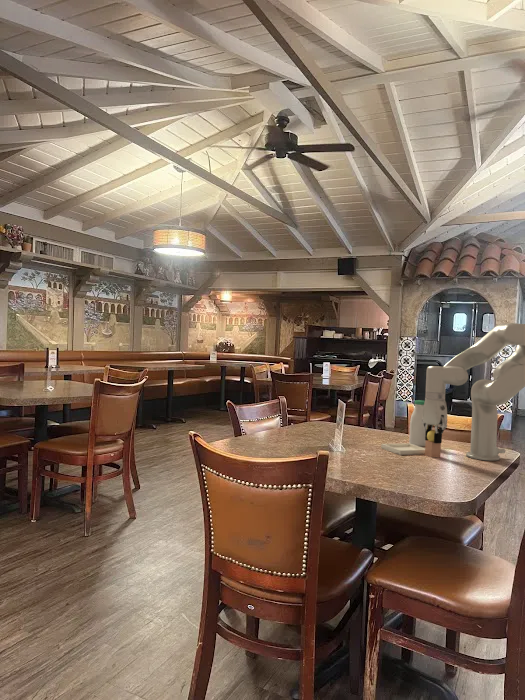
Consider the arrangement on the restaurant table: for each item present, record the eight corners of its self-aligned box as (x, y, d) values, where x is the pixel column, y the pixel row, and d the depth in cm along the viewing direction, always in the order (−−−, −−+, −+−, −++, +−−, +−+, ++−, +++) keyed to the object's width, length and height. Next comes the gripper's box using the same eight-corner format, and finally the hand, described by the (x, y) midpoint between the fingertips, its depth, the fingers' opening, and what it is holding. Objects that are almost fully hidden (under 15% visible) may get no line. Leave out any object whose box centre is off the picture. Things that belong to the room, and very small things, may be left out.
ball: (434, 441, 209) (435, 429, 209) (442, 443, 205) (442, 431, 205) (424, 441, 208) (424, 429, 208) (431, 443, 203) (432, 431, 203)
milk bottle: (429, 447, 227) (431, 401, 226) (411, 446, 227) (413, 401, 227) (424, 443, 234) (425, 400, 234) (407, 443, 234) (408, 399, 234)
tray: (409, 447, 223) (409, 443, 223) (429, 454, 210) (429, 449, 210) (381, 448, 219) (381, 443, 219) (399, 455, 205) (400, 450, 205)
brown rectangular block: (433, 454, 209) (434, 440, 209) (440, 457, 205) (441, 442, 205) (424, 455, 208) (425, 440, 208) (431, 457, 204) (432, 442, 204)
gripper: (457, 399, 199) (455, 445, 199) (429, 394, 215) (427, 438, 215) (441, 398, 197) (438, 446, 197) (414, 394, 213) (412, 438, 213)
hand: (433, 441), depth 206 cm, fingers closed on ball, 4 cm apart
